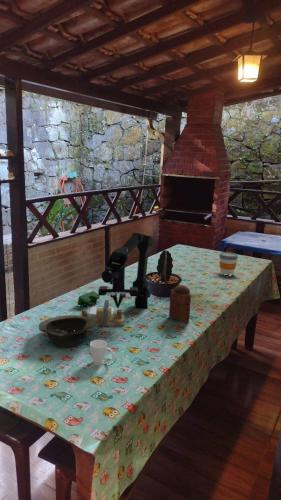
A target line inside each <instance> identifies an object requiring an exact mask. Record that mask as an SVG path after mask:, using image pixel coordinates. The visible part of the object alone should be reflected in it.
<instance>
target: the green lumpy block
mask: <svg viewBox="0 0 281 500" xmlns="http://www.w3.org/2000/svg"><path fill="white" fill-rule="evenodd" d="M100 298H101V295H98V292H95V291H94V290H92V291H90V292H87V293H84V294H82V295H79V296H78V299H77V305H78V306H79V305H80V306H79V307H83V306H86V307H87V306H90V307H91V304H93V303H95V304H96V305H97V302H98V300H99V299H100ZM84 304H85V305H84ZM95 304H94V305H95ZM82 305H83V306H82Z"/></svg>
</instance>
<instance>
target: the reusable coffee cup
mask: <svg viewBox="0 0 281 500" xmlns="http://www.w3.org/2000/svg"><path fill="white" fill-rule="evenodd" d="M237 260H238V253H235V252H230V251H222V252H220V253H219V263H218V264H219V270H220V272H219V273H222V274H227V275H230V274H233V275H234V274H235V270H236V266H237Z"/></svg>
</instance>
